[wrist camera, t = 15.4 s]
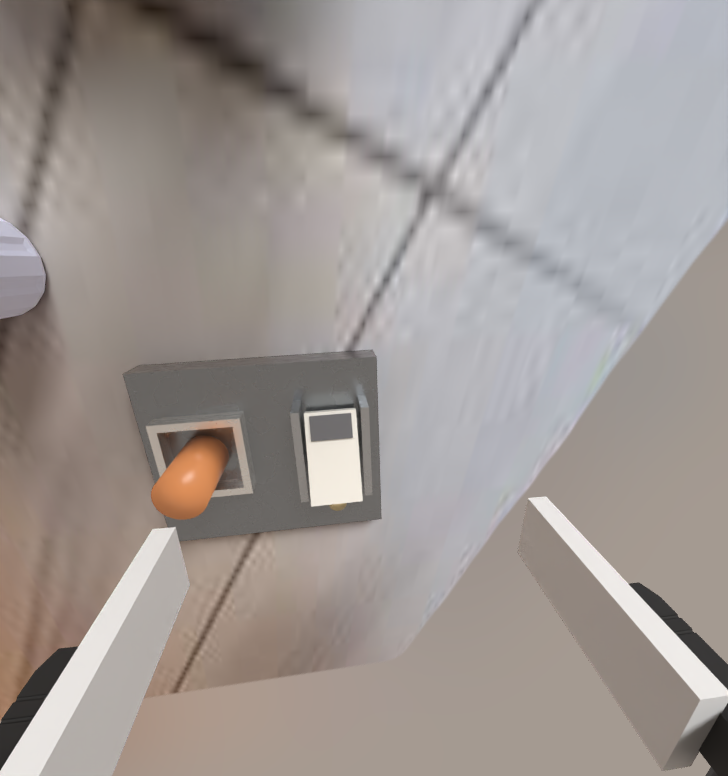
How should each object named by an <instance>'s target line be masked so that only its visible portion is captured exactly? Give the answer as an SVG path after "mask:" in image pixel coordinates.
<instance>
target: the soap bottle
mask: <svg viewBox="0 0 728 776" xmlns="http://www.w3.org/2000/svg"><path fill="white" fill-rule="evenodd" d="M45 279H46V274H45V270H44V267H43V263H42V260H41V257H40V255H39V254H38V252H37V251H36V249H35V248H34V246H33V245H32V243H31V242H30V240H29V239H28V238H27V237H26V236H25V235H24V234H22V233H21V232H20V231H19V230H18V229H17V228H16V227H14V226H13V225H12V224H11V223H9V222H7V221H5V220H3V219H1V218H0V319H2V318H8V317H13V316H19V315H23V314H24V313H26V312H27V311H29V310H30V309H32V308H33V307H35V306H36V305H37V303H38V302H39V300H40V298H41V297H42V295H43V293H44V291H45Z"/></svg>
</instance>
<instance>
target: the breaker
mask: <svg viewBox="0 0 728 776" xmlns="http://www.w3.org/2000/svg"><path fill="white" fill-rule="evenodd" d="M304 422H305V435H306V447H307V460H308V473H309V485H310V498H311V507H313V506H322V505H332V504H341V503H350V502H360V501H363V496H362V483H361V470H360V457H359V443H358V430H357V417H356V409H355V408H345V409H332V410H320V411H308V412H305V413H304Z"/></svg>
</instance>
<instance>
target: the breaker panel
mask: <svg viewBox="0 0 728 776" xmlns="http://www.w3.org/2000/svg"><path fill="white" fill-rule="evenodd" d="M123 376H124V380H125V383H126V387H127V390H128V393H129V397H130V400H131V404H132V407H133V410H134V414H135V417H136V421H137V424H138V427H139V431H140V434H141V438H142V441H143V444H144V448H145V451H146V455H147V458H148V461H149V465H150V468H151V472H152V475H153V478H154V482H155V483H156V482H157V481H158V480H159V478H160V477H161V476H162V474H163V473H164V472H165V470H166V469H167V468H168V466H169V465H170V464H171V463H172V461H173V460H174V459H175V457H176V456H177V455H178V453H179V452H180V451H181V449H182V448H183V447H184V446H185V444H186V443H187V442H188V441H189V440H190V439H192V438H194V437H197V436H211V437H214V438H217V439H218V440H220V441H221V442H222V443H223V444H224V445H225V446H226V448H227V450H228V452H229V461H228V463H227V465H226V467H225V470H224V472H223V474H222V476H221V478H220V480H219V482H218V484H217V486H216V488H215V490H214V492H213V494H212V497H211V499H210V501H209V503H208V505H207V507H206V509H205V510H204V511H203V512H202V513H201V514H200V515H198V516H196V517H194V518H191V519H185V520H179V519H173V518H170V517H167V516H165V515H164V516H165V519H166V523H167V526H168V528H171V527H176V531H177V535H178V539H179V541H187V540H196V539H205V538H214V537H223V536H232V535H241V534H250V533H259V532H268V531H277V530H286V529H295V528H304V527H313V526H322V525H331V524H340V523H349V522H358V521H367V520H376V519H381V490H380V457H379V424H378V392H377V359H376V355H375V353H374V352H373V350H361V351H346V352H331V353H316V354H302V355H287V356H272V357H257V358H242V359H227V360H213V361H198V362H183V363H168V364H153V365H139V366H137V367H135V368H133V369H132V370H130V371H128V372H126V373H124V374H123ZM345 408H355V409H356V417H357V430H358V443H359V457H360V470H361V483H362V496H363V501H360V502H350V503H341V504H332V505H322V506H313V507H311V498H310V485H309V473H308V460H307V447H306V435H305V422H304V413H305V412H308V411H320V410H332V409H345Z"/></svg>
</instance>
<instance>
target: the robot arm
mask: <svg viewBox="0 0 728 776" xmlns="http://www.w3.org/2000/svg"><path fill="white" fill-rule="evenodd" d="M518 554H519V556H520V557H521V559H522V560H523V562H524V563H525V565H526V566H527V568H528V569H529V571H530V572H531V574H532V575H533V577H534V578H535V580H536V581H537V583H538V584H539V586H540V587H541V589H542V590H543V592H544V593H545V595H546V596H547V598H548V599H549V601H550V603H551V604H552V606H553V607H554V609H555V610H556V612H557V613H558V614H559V616H560V618H561V619H562V621H563V622H564V624H565V625H566V627H567V628H568V630H569V631H570V632H571V634H572V636H573V637H574V639H575V640H576V642H577V643H578V645H579V646H580V648H581V649H582V651H583V652H584V654H585V655H586V657H587V658H588V660H589V661H590V663H591V664H592V666H593V667H594V669H595V670H596V672H597V673H598V675H599V676H600V678H601V679H602V681H603V682H604V684H605V685H606V687H607V689H608V690H609V692H610V693H611V694H612V696H613V698H614V699H615V700H616V702H617V704H618V705H619V706H620V708H621V710H622V711H623V713H624V714H625V716H626V717H627V719H628V720H629V722H630V723H631V725H632V726H633V728H634V729H635V731H636V732H637V734H638V735H639V737H640V738H641V740H642V741H643V743H644V744H645V746H646V747H647V749H648V750H649V752H650V753H651V755H652V756H653V758H654V759H655V761H656V762H657V764H658V765H659V767H660V768H661V770H662V771H665V770H671V769H677V768H682V767H688V766H691V765H692V763H693V761H694V760H695V758H696V756H697V755H698V753H699V751H700V753H701V754H702V755H703V757H704V758H705V759H706V760H707V762H708V763H709V765H710V766H711V768H710V769H709V771H708V773H707V774H706V776H728V664H727V663H726V662H725V661H724V660H723V659H722V658H720V657H719V656H718V654H717V653H715V652H714V650H713V649H711V647H710V646H709V645H708V644H707V643H705V641H704V640H703V639H702V638H701V637H699V635H698V634H697V633H694V632H693V631H692V628H691V627H690V626H688V624H687V623H686V622H685V621H683V619H682V618H679V617H678V615H677V613H676V612H675V611H674V610H672V608H671V607H670V606H669V605H668V604H667V603H665V601H664V600H663V599H662V598H661V597H659V596H658V595H656V594H655V593H654V592H652V591H651V590H649V589H648V588H646V587H645V586H643V585H642V584H640V583H631V584H628V583H627V582H626V581H625V580H624V579H623V578H622V577H621V576H620V575H619V574H618V573H617V571H616V570H615V569H614V568H613V567H612V566H611V565H610V564H609V563H608V562H607V561H606V560H605V559H604V558H603V557H602V556H601V554H600V553H599V552H598V551H596V549H595V548H594V547H593V546H592V545H591V544H590V543H589V542H588V541H587V540H586V538H585V537H583V535H582V534H581V533H580V532H579V531H578V530H577V529H576V528H575V527H574V526H573V525H572V524H571V523H570V521H568V519H567V518H566V517H565V516H564V515H563V514H562V513H561V512H560V511H559V510H558V509H557V508H556V507H555V505H553V503H551V501H550V500H549V499H548V498H547V497H536V498H528V500H527V505H526V510H525V516H524V521H523V526H522V531H521V536H520V541H519V547H518ZM189 586H190V583H189V579H188V575H187V571H186V567H185V563H184V559H183V555H182V551H181V547H180V543H179V539H178V535H177V531H176V527H171V528H159V529H152V531H151V533H150V534H149V536H148V537H147V539H146V540H145V542H144V544H143V545H142V547H141V548H140V550H139V552H138V553H137V555H136V556H135V558H134V559H133V561H132V563H131V564H130V566H129V567H128V569H127V571H126V572H125V574H124V575H123V577H122V578H121V580H120V582H119V583H118V585H117V586H116V588H115V590H114V591H113V593H112V594H111V596H110V598H109V599H108V601H107V602H106V604H105V605H104V607H103V609H102V610H101V612H100V613H99V615H98V617H97V618H96V620H95V621H94V623H93V624H92V626H91V628H90V629H89V631H88V632H87V634H86V636H85V637H84V639H83V640H82V642H81V643H80V645H79V647H70V648H61V649H58V650H57V651H56V652H55V653H54V654H53V655H52V656H51V657H50V658H49V659H47V660H46V661H45V662H44V663H43V664H42V665H41V666H40V667H39V668H38V669H37V670H36V671H35V672H34V674H33V675H32V676H31V678H30V679H29V681H28V682H27V684H26V685H25V687H24V688H23V689H22V691H21V692H20V694H19V695H18V697H17V700H16V702H14V703H13V704H12V705H11V707H10V708H9V709H8V711H7V712H6V714H5V715H4V717H3V718H2V719H1V720H2V721H1V723H0V776H112V775H113V772H114V769H115V767H116V765H117V762H118V760H119V757H120V755H121V753H122V750H123V748H124V745H125V743H126V740H127V738H128V735H129V733H130V731H131V728H132V725H133V723H134V721H135V718H136V716H137V713H138V711H139V708H140V706H141V703H142V701H143V699H144V696H145V694H146V691H147V689H148V686H149V684H150V682H151V679H152V677H153V674H154V672H155V669H156V667H157V664H158V662H159V659H160V657H161V655H162V652H163V650H164V647H165V645H166V642H167V640H168V637H169V635H170V633H171V630H172V628H173V625H174V623H175V620H176V618H177V615H178V613H179V611H180V608H181V606H182V603H183V601H184V598H185V596H186V593H187V591H188V588H189Z"/></svg>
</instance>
